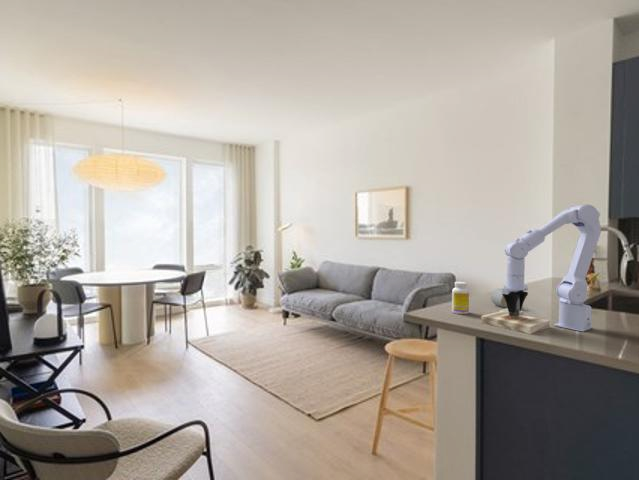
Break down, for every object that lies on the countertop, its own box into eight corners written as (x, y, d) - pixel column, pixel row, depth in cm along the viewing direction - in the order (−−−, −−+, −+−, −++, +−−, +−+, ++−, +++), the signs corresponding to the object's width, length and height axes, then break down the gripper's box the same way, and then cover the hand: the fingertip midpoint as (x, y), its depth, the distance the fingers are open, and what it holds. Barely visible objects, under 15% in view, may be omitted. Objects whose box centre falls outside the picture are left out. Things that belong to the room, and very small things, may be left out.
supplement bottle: (471, 314, 154) (471, 283, 153) (454, 314, 154) (455, 283, 153) (465, 310, 160) (465, 281, 160) (449, 310, 160) (450, 281, 160)
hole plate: (549, 327, 135) (549, 320, 135) (530, 333, 127) (530, 326, 127) (501, 317, 150) (501, 310, 149) (481, 322, 142) (481, 315, 141)
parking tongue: (523, 316, 151) (523, 311, 151) (514, 318, 147) (514, 313, 147) (506, 312, 156) (506, 308, 156) (497, 315, 152) (497, 310, 152)
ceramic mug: (501, 309, 164) (502, 291, 163) (490, 305, 172) (490, 288, 171) (523, 308, 165) (524, 291, 165) (511, 304, 173) (511, 288, 173)
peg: (521, 315, 138) (522, 296, 137) (515, 316, 136) (516, 297, 135) (512, 313, 141) (512, 294, 140) (506, 314, 139) (506, 295, 139)
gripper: (515, 272, 145) (514, 306, 145) (494, 275, 137) (493, 312, 137) (533, 274, 139) (533, 310, 140) (513, 277, 131) (512, 315, 131)
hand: (514, 311), depth 138 cm, fingers closed on peg, 4 cm apart
